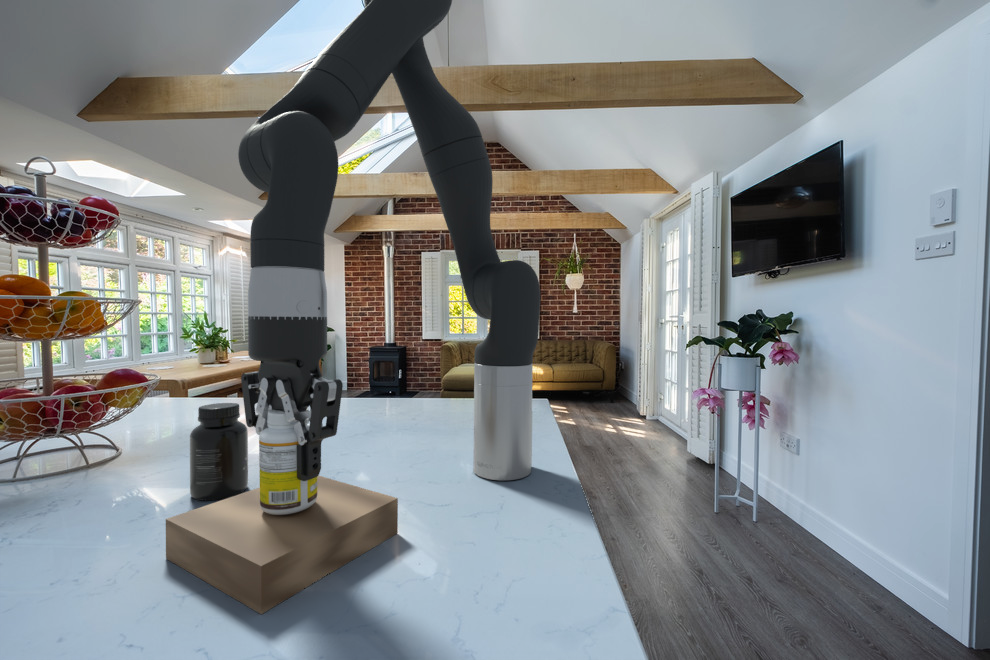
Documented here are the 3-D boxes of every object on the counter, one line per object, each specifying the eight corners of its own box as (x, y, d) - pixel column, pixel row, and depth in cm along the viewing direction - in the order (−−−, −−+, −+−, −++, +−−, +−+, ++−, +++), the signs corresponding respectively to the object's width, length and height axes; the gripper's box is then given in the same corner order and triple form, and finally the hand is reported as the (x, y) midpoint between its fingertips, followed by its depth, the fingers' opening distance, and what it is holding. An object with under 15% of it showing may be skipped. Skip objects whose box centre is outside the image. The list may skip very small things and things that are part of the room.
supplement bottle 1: (259, 487, 63) (258, 403, 62) (210, 505, 57) (210, 412, 56) (227, 479, 66) (227, 399, 65) (178, 496, 59) (177, 407, 59)
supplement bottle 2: (302, 491, 51) (301, 402, 51) (327, 504, 47) (327, 409, 47) (250, 506, 47) (249, 410, 46) (273, 522, 43) (273, 418, 43)
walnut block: (306, 502, 58) (305, 471, 58) (397, 533, 50) (397, 498, 50) (165, 558, 44) (165, 519, 44) (261, 614, 36) (261, 566, 36)
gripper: (364, 314, 46) (364, 475, 47) (279, 313, 53) (280, 452, 54) (301, 313, 40) (301, 500, 40) (214, 313, 47) (215, 471, 47)
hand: (289, 472), depth 47 cm, fingers closed on supplement bottle 2, 5 cm apart
